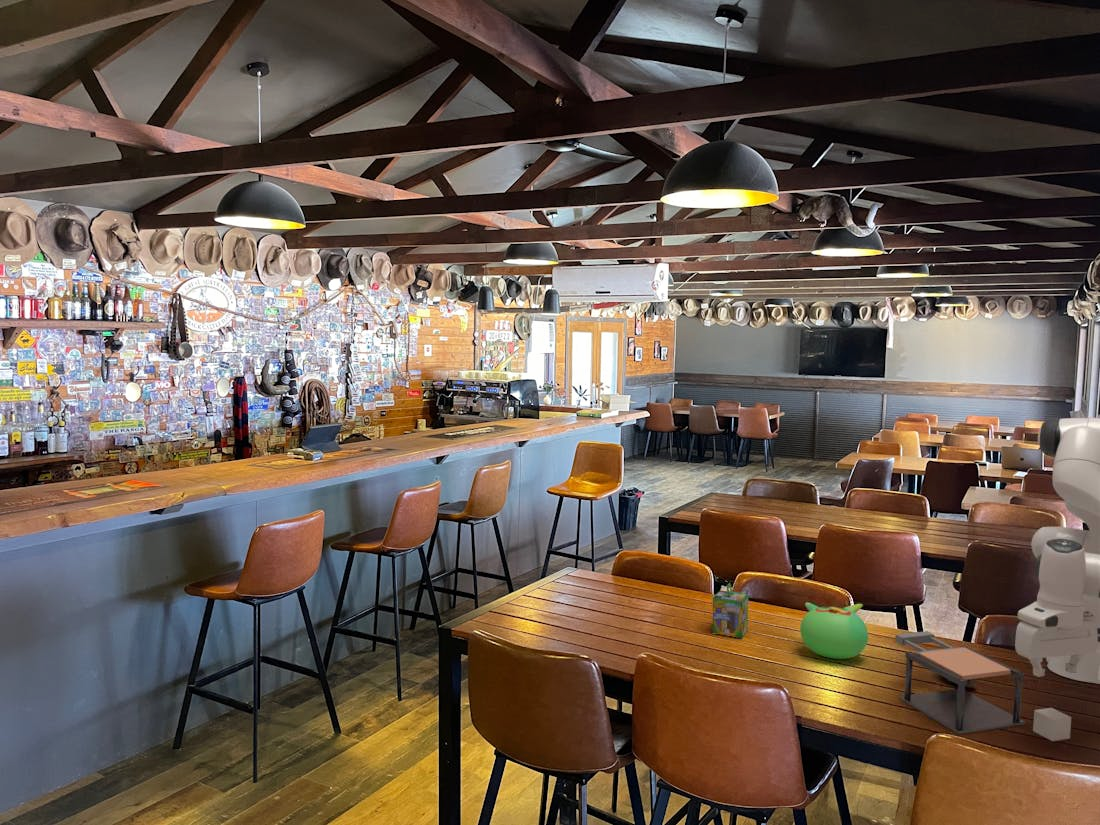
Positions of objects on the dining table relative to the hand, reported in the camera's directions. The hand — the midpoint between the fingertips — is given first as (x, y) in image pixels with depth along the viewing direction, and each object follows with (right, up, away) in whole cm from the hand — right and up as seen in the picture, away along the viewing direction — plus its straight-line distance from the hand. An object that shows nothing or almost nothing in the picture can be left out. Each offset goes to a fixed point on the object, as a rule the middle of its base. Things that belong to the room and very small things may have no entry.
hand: (1055, 673), depth 179 cm
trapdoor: (-16, -2, +17) cm, 23 cm away
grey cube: (0, -14, +1) cm, 14 cm away
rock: (-7, -12, +30) cm, 33 cm away
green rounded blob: (-33, -10, +47) cm, 58 cm away
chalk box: (-58, -9, +64) cm, 87 cm away
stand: (-15, -13, +13) cm, 23 cm away
